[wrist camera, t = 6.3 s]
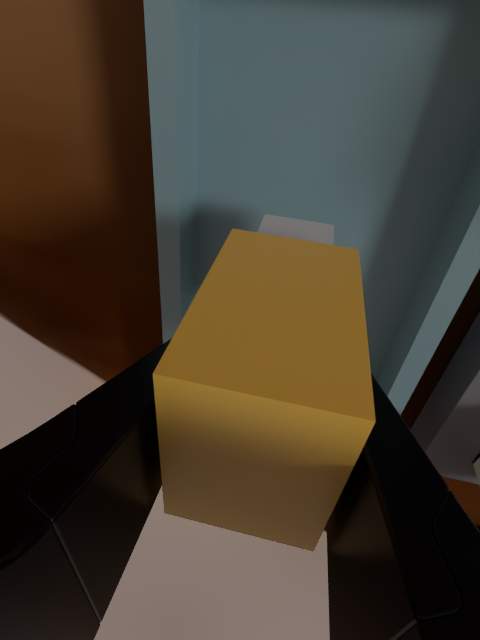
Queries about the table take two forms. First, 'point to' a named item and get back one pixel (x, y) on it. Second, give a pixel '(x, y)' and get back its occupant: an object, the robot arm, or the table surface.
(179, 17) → the parts tray
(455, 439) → the block
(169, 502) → the block
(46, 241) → the table surface
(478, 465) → the block
